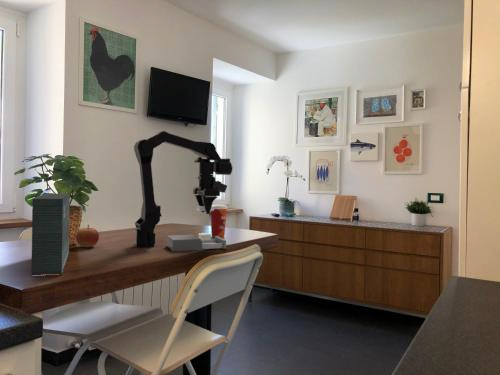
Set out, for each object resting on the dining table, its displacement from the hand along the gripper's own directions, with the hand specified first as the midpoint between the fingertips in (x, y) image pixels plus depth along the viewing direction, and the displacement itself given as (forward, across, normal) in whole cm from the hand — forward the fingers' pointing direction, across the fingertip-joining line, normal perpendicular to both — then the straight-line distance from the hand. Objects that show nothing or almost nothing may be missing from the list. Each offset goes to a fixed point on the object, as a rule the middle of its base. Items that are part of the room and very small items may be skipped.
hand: (205, 213), depth 163 cm
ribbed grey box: (+12, -28, +54) cm, 61 cm away
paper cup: (+12, +14, -10) cm, 21 cm away
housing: (+12, -10, +11) cm, 19 cm away
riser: (+12, 0, 0) cm, 12 cm away
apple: (+12, 0, +44) cm, 46 cm away
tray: (+12, -10, +1) cm, 16 cm away
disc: (-1, 0, 0) cm, 1 cm away
